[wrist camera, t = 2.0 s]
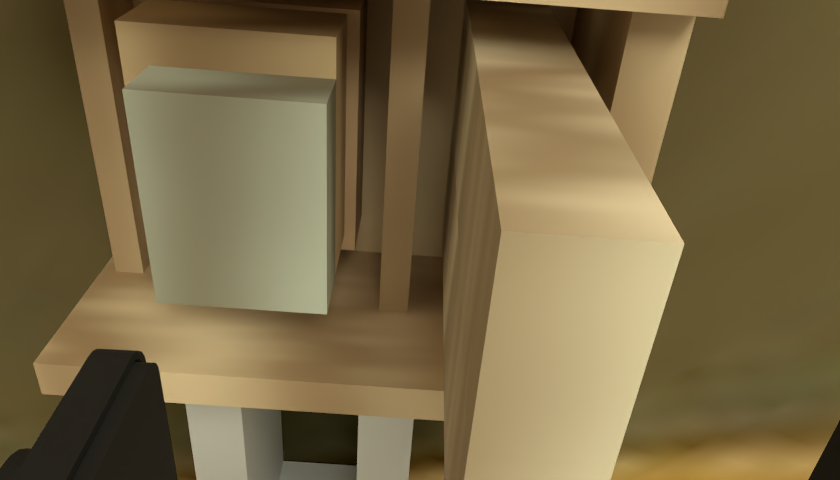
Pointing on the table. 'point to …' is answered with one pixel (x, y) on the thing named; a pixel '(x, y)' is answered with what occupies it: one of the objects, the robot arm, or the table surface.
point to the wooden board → (543, 259)
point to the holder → (263, 447)
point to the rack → (379, 227)
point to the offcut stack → (246, 146)
